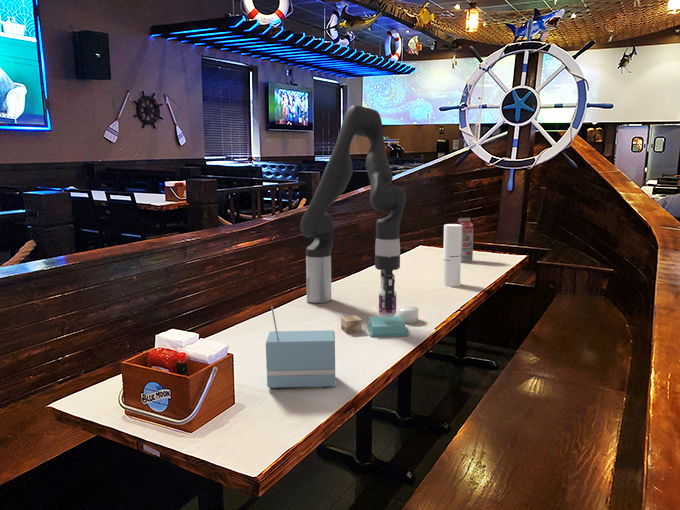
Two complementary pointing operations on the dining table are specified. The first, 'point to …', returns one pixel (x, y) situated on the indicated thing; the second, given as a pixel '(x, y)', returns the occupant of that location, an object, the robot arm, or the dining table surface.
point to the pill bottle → (382, 304)
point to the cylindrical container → (452, 255)
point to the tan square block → (351, 324)
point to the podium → (386, 326)
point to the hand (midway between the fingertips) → (387, 306)
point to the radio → (300, 358)
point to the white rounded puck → (408, 314)
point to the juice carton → (466, 239)
